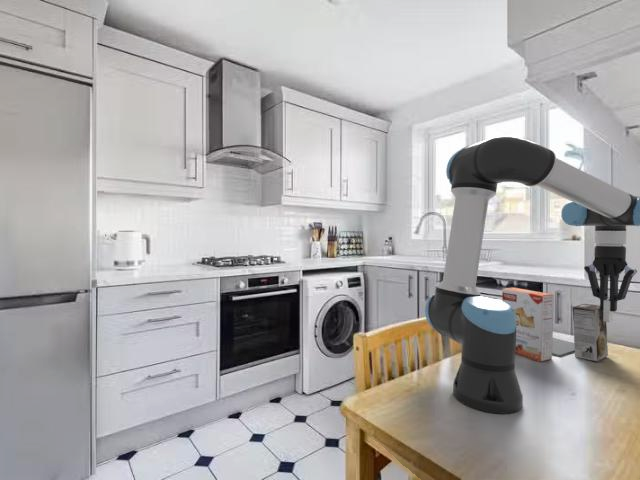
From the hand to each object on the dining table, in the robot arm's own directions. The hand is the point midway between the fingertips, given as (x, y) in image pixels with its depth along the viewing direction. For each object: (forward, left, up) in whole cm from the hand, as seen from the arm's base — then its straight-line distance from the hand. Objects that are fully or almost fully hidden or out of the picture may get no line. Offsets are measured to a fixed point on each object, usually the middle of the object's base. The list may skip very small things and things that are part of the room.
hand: (608, 321), depth 110 cm
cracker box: (-16, +16, -13) cm, 26 cm away
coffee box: (0, +4, -13) cm, 13 cm away
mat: (0, +16, -13) cm, 20 cm away
